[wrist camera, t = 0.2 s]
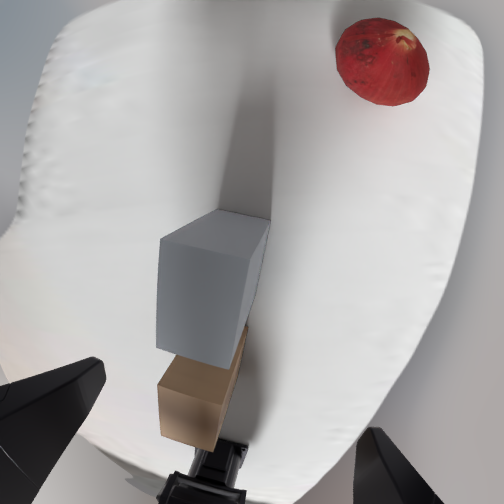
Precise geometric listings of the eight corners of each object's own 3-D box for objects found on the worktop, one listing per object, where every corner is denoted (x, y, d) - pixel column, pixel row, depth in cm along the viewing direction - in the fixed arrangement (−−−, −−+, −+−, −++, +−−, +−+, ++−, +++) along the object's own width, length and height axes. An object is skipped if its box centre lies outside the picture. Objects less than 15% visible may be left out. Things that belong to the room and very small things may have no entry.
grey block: (255, 294, 22) (229, 369, 13) (206, 282, 22) (156, 347, 14) (270, 220, 20) (250, 259, 11) (217, 209, 20) (160, 238, 12)
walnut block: (237, 376, 25) (212, 452, 16) (197, 365, 25) (161, 435, 16) (248, 326, 23) (222, 405, 14) (202, 314, 23) (157, 384, 14)
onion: (332, 112, 17) (354, 76, 9) (326, 43, 15) (338, -17, 8) (408, 119, 16) (464, 97, 8) (399, 51, 14) (441, 5, 7)
